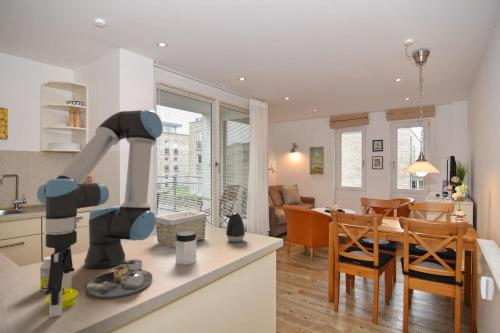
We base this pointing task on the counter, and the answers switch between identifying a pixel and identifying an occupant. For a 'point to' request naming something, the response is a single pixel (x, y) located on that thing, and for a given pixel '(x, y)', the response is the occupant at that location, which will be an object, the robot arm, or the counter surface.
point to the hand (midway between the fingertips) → (61, 304)
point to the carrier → (120, 281)
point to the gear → (67, 297)
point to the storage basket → (179, 226)
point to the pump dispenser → (235, 228)
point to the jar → (186, 247)
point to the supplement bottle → (45, 273)
